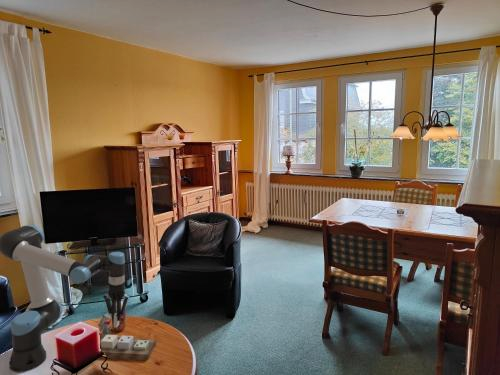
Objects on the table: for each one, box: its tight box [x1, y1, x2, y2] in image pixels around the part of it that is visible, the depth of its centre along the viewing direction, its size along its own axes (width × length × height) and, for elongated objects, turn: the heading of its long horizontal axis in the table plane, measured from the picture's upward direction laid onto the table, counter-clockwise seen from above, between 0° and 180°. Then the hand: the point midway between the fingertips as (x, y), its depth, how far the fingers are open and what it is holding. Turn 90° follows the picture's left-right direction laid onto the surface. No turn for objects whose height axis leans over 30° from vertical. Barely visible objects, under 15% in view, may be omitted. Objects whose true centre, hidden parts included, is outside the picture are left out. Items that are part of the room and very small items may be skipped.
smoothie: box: [110, 300, 127, 333], centre depth 194 cm, size 8×8×20 cm
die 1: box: [100, 334, 118, 349], centre depth 176 cm, size 6×6×4 cm
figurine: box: [97, 310, 113, 340], centre depth 186 cm, size 8×8×15 cm
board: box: [99, 336, 157, 361], centre depth 176 cm, size 28×13×3 cm, turn 87°
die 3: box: [134, 340, 149, 351], centre depth 175 cm, size 6×6×4 cm
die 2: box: [117, 334, 134, 350], centre depth 175 cm, size 6×6×4 cm
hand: (116, 326), depth 174 cm, fingers closed
